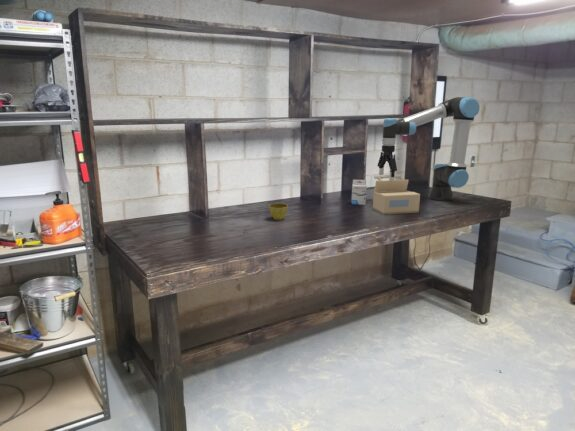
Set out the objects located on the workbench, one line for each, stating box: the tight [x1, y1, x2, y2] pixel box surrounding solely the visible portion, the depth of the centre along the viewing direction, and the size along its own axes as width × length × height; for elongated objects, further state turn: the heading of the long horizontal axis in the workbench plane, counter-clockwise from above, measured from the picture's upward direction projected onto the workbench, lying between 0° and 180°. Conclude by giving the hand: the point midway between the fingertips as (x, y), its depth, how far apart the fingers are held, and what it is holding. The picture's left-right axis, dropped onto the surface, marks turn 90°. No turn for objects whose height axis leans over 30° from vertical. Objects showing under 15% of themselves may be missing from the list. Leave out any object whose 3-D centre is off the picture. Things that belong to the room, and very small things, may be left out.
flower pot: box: [268, 203, 289, 221], centre depth 235 cm, size 10×10×7 cm
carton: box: [372, 190, 421, 215], centre depth 255 cm, size 22×14×11 cm, turn 105°
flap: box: [373, 174, 410, 193], centre depth 262 cm, size 21×8×7 cm
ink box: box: [350, 179, 368, 206], centre depth 271 cm, size 9×5×15 cm, turn 84°
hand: (386, 180), depth 266 cm, fingers open, 13 cm apart
